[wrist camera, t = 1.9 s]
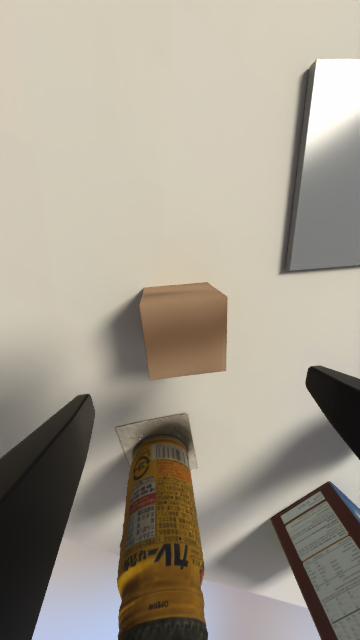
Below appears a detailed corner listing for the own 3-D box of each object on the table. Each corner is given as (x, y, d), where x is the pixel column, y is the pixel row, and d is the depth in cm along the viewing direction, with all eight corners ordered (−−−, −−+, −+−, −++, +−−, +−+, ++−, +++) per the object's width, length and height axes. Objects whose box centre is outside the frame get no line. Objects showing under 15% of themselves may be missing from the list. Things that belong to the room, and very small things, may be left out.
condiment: (135, 479, 23) (116, 697, 12) (115, 425, 20) (66, 651, 9) (197, 465, 24) (234, 664, 12) (187, 411, 21) (224, 609, 9)
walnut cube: (207, 338, 18) (225, 370, 13) (151, 344, 18) (149, 380, 13) (206, 282, 16) (227, 296, 12) (144, 287, 16) (139, 304, 11)
